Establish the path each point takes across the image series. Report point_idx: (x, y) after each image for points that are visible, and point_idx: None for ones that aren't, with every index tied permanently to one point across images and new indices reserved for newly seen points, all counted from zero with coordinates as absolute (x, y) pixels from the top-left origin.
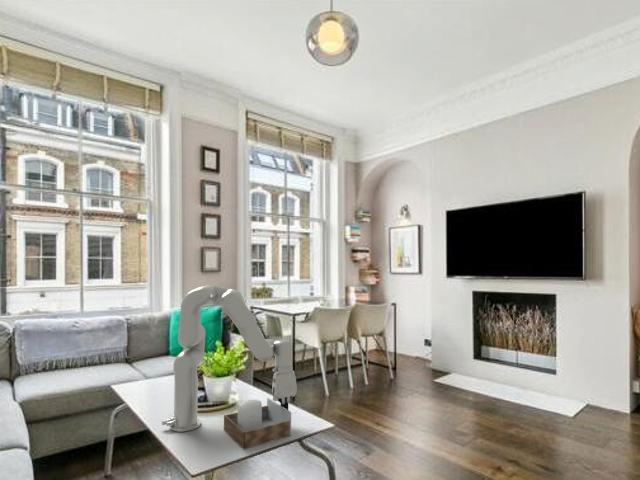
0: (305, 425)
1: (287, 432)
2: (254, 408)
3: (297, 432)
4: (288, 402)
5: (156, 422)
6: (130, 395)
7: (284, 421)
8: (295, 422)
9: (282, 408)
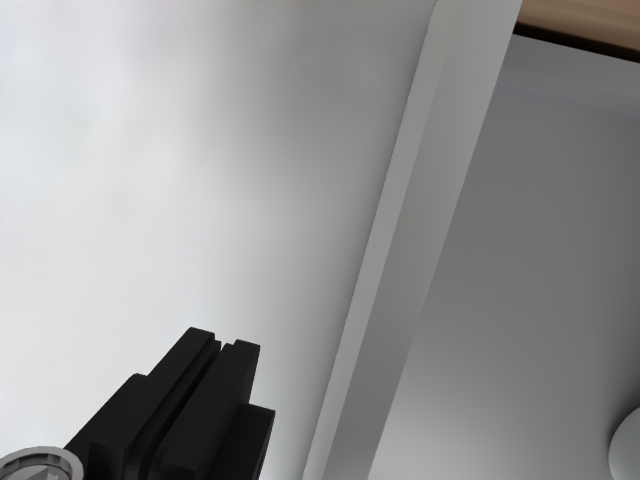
0: (83, 105)
1: None
2: None
3: (299, 23)
4: (40, 465)
5: None
6: None
7: (625, 10)
8: (119, 263)
9: (400, 362)
